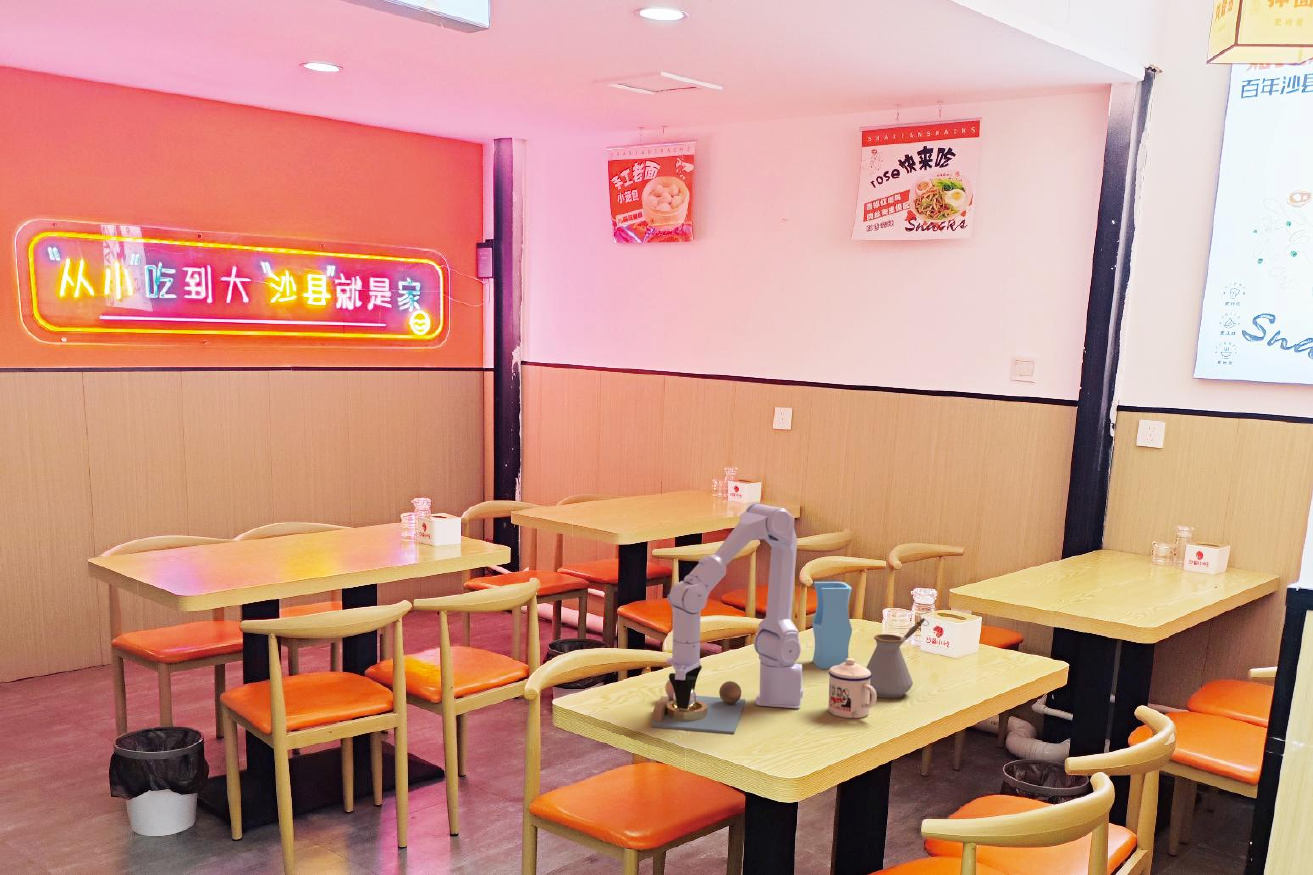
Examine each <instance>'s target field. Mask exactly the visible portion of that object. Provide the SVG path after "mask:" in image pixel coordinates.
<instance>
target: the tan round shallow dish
mask: <svg viewBox="0 0 1313 875" xmlns="http://www.w3.org/2000/svg"><path fill="white" fill-rule="evenodd" d="M666 713H667V716H668V717H670V718H672V719H676V720H682V721H695V720H700V719H703V718H705V717H706V716H707V705H706V704H705V703H703V702H701V701H697V700H696V702H695V704H694V706H693V707H691V708H689V709H680V708H678V707H677V706H676V704H675V703H674V701H670V702H669V703H667V704H666Z"/></svg>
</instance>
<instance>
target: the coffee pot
mask: <svg viewBox="0 0 1313 875" xmlns="http://www.w3.org/2000/svg"><path fill="white" fill-rule="evenodd" d="M924 622H927V624H924ZM929 624H930V623H929V621H928V620H927V619H925V618H924V617H923V618H921V619H920V620H919V621H917V622H916V624H915V625H913V626H912V627H911V628H909V630H908V631H907V632H906V633H905V635H903V637H901V636H900V635H896V634H889V633H888V634H887V633H882V634H876V635H874V636H873V639H874V640H875V642H876V646H875V648H874V650H873V653H872V655H871V657H870V659H869V661H868V664H867V665H866V667H865V668H867V669H868V670H869V671H870V672H871V675H872V676H871V678H870V686H872V687H873V688H874V689H875V691H876V694H877V697H879V698H885V699H895V698H901V697H903V696H904V695H905V694H906V693H907V692H909V691H910V690H911V688H912V687H913V684H914V682H913V679H912V677H911V674H910V671H909V668H908V666H907V663H906V661H905V658H904V655H903V653H902V650H901V648H900V647H901V645H903V644H904V643H905V641H907V640H908V639H909V638H911V636H912V635H914V634H915V633H916V632H917V631H918V629H919V627H921V626H922V625H923V626H924V627H927V626H929Z"/></svg>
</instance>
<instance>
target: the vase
mask: <svg viewBox="0 0 1313 875" xmlns="http://www.w3.org/2000/svg"><path fill="white" fill-rule="evenodd" d="M813 584H814V590H815V594H816V610H815V613H814V616H813V619H812V622H811V623H812V624H811V625H812V631H813V637H814V652H813V658H812V662H813V664H814V665H815V666H816V667H817V668H818V669H822V670H830V668H831V667H833V666H836V665H840V664H842V663H845V662H846V659H847V658H849V646H850V641H851V636H852V634H853V628H852V625H851V622H850V621H851V620H850V615H849V602H850V598H851V597H850V596H851V592H852V586H850V585H849V584H847V583H846V582H843V581H813Z"/></svg>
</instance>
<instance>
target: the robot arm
mask: <svg viewBox="0 0 1313 875" xmlns="http://www.w3.org/2000/svg"><path fill="white" fill-rule="evenodd" d="M757 540H759V541H760V540H764V541H766V543H767V544H768V545H769V546H770V547H771V551H770V562H769V564H770V565H769V575H768V587H767V589H768V590H767V600H766V614H765V617H764V618H763V619H762V620H761V621H760V622H759V623H758V630H757V632H756V635H755V636H754V640H753V648H754V650H755V653H757V655H758V660H759V661H760V664H759V693H758V695H757V698H756V701H755V705H756V706H761V707H762V706H763V707H772V708H773V707H774V708H788V709H796V710H797V709H800V708H801V704H802V699H803V696H804V695H803V694H804V692H803V691H804V690H803V664H801V663H796V662H797V661H798V660H799V658H800V655H801V652H802V651H801V650H802V648H801V643H800V639H799V633H800V632H799V630H798V628H797V626H796V625H795V624H794V621H792V616H793V615H792V614H793V613H792V612H793V603H794V602H793V600H794V586H795V577H796V576H795V575H796V564H797V563H796V561H797V550H798V549H797V548H798V537H797V535H796V530H795V517H794V516H793V515H792V513H791V512H790V511H788V510H787V509H786V508H784V507H777V506H771V505H767V504H763V503H761V502H754V503H751V504H750V505H748V507H747V508H746V509H745V511H743V512H742V513H741V514H740V517H739V521H738V523H737V525H736V526H735V527H734V528H733V529H732V530H731V532H730V533H729V534H728V536H727V537H726V539H725V540H724V541H723V543H722V544H721V545H720V546H719V547H718V549H717V550H716V551H715V553H714V554H707V555H705V556H704V557H703V556H702V557H700V558H699V560H697V561H698V564H697V565H696V566H694V568H692V570H691V571H690V572H689V574H687V575H686V576H684V578H683V580H680V582H679V581H678V582H676V583H675V584H674V585H673V586H672V587H671V589H670V591H669V594H667V600H668V603H669V604H670V605H669V606H671V610H672V611H671V612H672V645H671V646H672V648H671V649H672V650H671V651H672V652H671V653H672V654H671V658H670V657H669V658H667V659H666V661H665V662H666V664H667V665H671V666H672V668H673V669H674V671H675V672H671V673H669V675H668V680H670V682H671V684H672V686H673V689H674V692H675V697H676V703H677V707H678V708H682V709H687V708H688V706H689V702H690V696H691V691H692V689H693V690H694V691H695V688H696V684H697V680H698V677H699V674H700V672H701V670H702V668H703V666H702V664H701V658H700V657H701V656H700V655H701V654H700V653H701V652H700V651H701V647H700V646H701V615H702V614H701V611H702V610H704V609H705V607H706V605H707V602H708V597H709V596H710V593H711V591H712V590H713V589H714V588H715V587H716V586H717V584H719V582H720V581H721V580H722V579H723V578H724V577H725V576H726V574H727V566H728V564H730V562H731V561H733V559H735V557H736V556H737V555H739V553H740V552H742V550H744V549H745V548H746V547H747V546H748V545H749V544H750V543H751V542H752V541H757Z"/></svg>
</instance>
